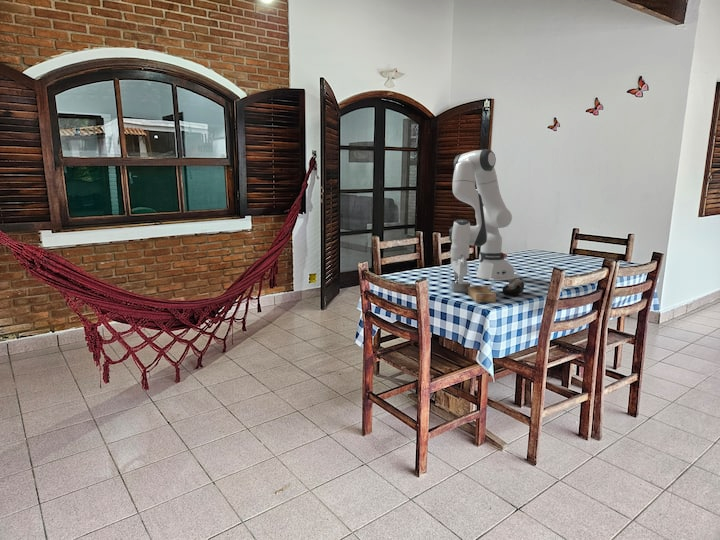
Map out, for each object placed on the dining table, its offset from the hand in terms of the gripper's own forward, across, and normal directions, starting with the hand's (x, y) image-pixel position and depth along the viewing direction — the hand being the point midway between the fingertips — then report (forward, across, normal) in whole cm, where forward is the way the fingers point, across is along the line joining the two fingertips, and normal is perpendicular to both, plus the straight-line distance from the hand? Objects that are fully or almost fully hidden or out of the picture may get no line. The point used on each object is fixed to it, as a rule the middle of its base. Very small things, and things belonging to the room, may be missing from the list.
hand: (458, 281), depth 242 cm
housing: (+5, 0, -2) cm, 5 cm away
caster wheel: (+5, -6, -26) cm, 27 cm away
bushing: (+4, -2, -14) cm, 15 cm away
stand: (+5, -13, -8) cm, 16 cm away
